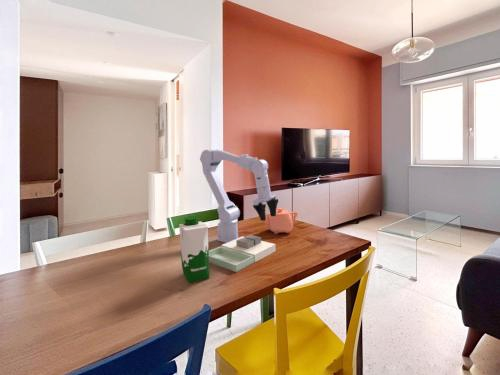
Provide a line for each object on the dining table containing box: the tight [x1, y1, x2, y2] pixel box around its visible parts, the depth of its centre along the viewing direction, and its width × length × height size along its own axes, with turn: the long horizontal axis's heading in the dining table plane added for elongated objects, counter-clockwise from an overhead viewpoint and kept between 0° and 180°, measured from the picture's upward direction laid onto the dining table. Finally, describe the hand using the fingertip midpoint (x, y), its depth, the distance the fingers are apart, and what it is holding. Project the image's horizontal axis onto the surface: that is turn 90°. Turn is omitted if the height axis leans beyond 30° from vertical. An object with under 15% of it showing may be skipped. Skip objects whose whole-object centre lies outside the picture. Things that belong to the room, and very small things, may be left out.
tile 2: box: [243, 234, 262, 245], centre depth 115 cm, size 6×4×2 cm, turn 51°
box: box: [208, 246, 255, 273], centre depth 103 cm, size 18×10×3 cm, turn 51°
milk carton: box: [179, 216, 210, 284], centre depth 90 cm, size 9×9×20 cm
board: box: [221, 236, 277, 263], centre depth 113 cm, size 18×14×3 cm
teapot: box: [263, 207, 299, 235], centre depth 139 cm, size 13×20×12 cm, turn 97°
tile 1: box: [236, 238, 254, 249], centre depth 111 cm, size 6×4×2 cm, turn 51°
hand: (268, 218), depth 117 cm, fingers open, 7 cm apart
